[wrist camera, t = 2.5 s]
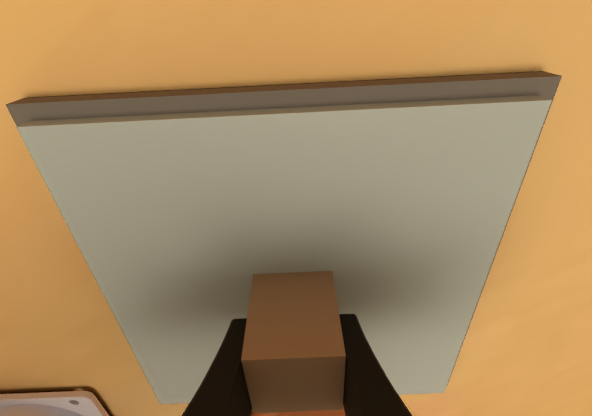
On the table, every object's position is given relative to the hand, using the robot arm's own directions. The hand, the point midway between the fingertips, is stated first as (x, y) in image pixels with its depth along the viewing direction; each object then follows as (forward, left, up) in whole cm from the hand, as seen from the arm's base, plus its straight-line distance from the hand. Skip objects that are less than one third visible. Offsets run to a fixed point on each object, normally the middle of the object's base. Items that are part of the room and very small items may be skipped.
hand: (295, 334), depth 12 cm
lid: (0, 0, -2) cm, 2 cm away
